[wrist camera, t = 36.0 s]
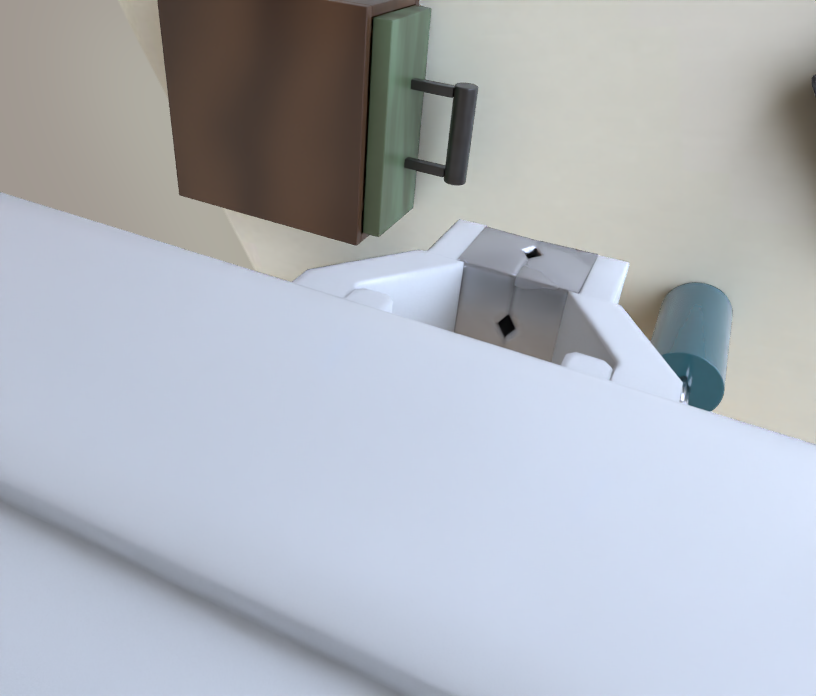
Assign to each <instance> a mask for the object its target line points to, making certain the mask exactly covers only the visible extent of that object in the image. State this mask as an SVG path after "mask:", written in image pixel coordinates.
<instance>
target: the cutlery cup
mask: <svg viewBox="0 0 816 696" xmlns="http://www.w3.org/2000/svg"><path fill="white" fill-rule="evenodd" d="M732 316H733V310H732V306H731V303H730V301H729V299H728V298H727V296H726V295H725V294H724V293H723V292H722V291H720V290H719V289H717V288H716V287H714V286H711V285H708V284H705V283H687V284H683V285H680V286H678V287H676V288H674V289H673V290H671V291H670V292H669V293H668V294H667V295H666V297H665V298H664V300H663V302H662V304H661V308H660V311H659V315H658V318H657V322H656V325H655V329H654V332H653V336H652V339H651V344H652V345H653V346H654V347H655V349H656V350H657V351H658V352H659V354H660V355H661V356H662V357H663V359H664V360H665V361H666V362H667V364H668V365H669V366H670V367H671V369H672V370H673V371H674V372H675V374H676V375H677V376H678V377H679V379H680V380H681V381H682V382H683V385H682V390H681V395H680V401H679V402H680V403H683V404H687V405H690V406H693V407H696V408H699V409H703V410H706V411H709V412H711V411H712V410H714V409H715V408H716V407H717V406H718V405H719V403H720V402H721V400H722V398H723V395H724V389H725V380H726V371H727V362H728V353H729V344H730V335H731V325H732Z"/></svg>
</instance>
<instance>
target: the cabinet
mask: <svg viewBox="0 0 816 696" xmlns="http://www.w3.org/2000/svg"><path fill="white" fill-rule="evenodd" d="M414 5H416V6H419V0H158V9H159V18H160V27H161V36H162V44H163V53H164V62H165V71H166V80H167V89H168V98H169V107H170V116H171V125H172V134H173V142H174V151H175V160H176V169H177V178H178V187H179V195H181V196H184V197H188V198H191V199H195V200H198V201H202V202H205V203H209V204H212V205H216V206H220V207H223V208H226V209H230V210H233V211H237V212H240V213H244V214H247V215H251V216H254V217H258V218H261V219H265V220H268V221H272V222H275V223H279V224H282V225H286V226H289V227H293V228H296V229H300V230H303V231H307V232H310V233H314V234H317V235H321V236H324V237H328V238H331V239H335V240H339V241H342V242H346V243H349V244H353V245H358V244H359V243H360V242H361V241H363V240H364V239H365V238H366V237H368V236H369V234H366V233H363V219H364V210H362V199H363V178H364V157H365V136H366V115H367V94H368V73H369V52H370V31H371V17H374V16H377V15H381V14H384V13H387V12H391V11H397V10H401V9H404V8H407V7H410V6H414Z"/></svg>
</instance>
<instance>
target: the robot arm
mask: <svg viewBox="0 0 816 696" xmlns="http://www.w3.org/2000/svg"><path fill="white" fill-rule="evenodd" d="M628 268H629V262H626V261H621V260H617V259H613V258H608V257H604V256H599V255H598V254H595V253H590V252H586V251H582V250H578V249H573V248H569V247H565V246H561V245H556V244H552V243H548V242H544V241H537V240H534V239H530V238H527V237H523V236H519V235H516V234H512V233H508V232H505V231H501V230H498V229H494V228H490V227H487V225H483V224H478V223H474V222H469V221H465V220H461V219H459V220H458V221H457V222H456V223H455V224H454V225H453V226H452V227H451V228H450V229H449V230H448V231H447V232H445V233H444V234H443V235H442V236H441V237H440V238H439V239H438V240H437V241H436V242H435V243H434V244H433V245H432V246H431V247H430V248H429V249H428V250H427V251H423V250H413V251H408V252H402V253H396V254H391V255H385V256H380V257H374V258H368V259H363V260H357V261H352V262H346V263H340V264H335V265H329V266H324V267H318V268H313V269H308V270H306V271H305V272H304V273H302V274H301V275H300V276H299V277H297V278H296V279H295V280H293V281H292V282H289V281H286V280H283V279H280V278H276V277H273V276H270V275H267V274H264V273H260V272H257V271H254V270H250V269H247V268H244V267H241V266H238V265H234V264H231V263H228V262H224V261H222V260H218V259H215V258H212V257H209V256H205V255H202V254H199V253H196V252H193V251H189V250H186V249H183V248H179V247H176V246H173V245H170V244H167V243H163V242H160V241H157V240H154V239H151V238H147V237H144V236H141V235H137V234H134V233H131V232H128V231H125V230H121V229H118V228H115V227H112V226H109V225H105V224H102V223H99V222H96V221H92V220H89V219H86V218H82V217H80V216H76V215H73V214H70V213H67V212H63V211H60V210H57V209H54V208H50V207H47V206H44V205H41V204H37V203H34V202H31V201H28V200H25V199H21V198H18V197H15V196H12V195H8V194H5V193H2V192H0V696H816V444H812V443H809V442H806V441H803V440H800V439H796V438H793V437H790V436H787V435H783V434H780V433H777V432H774V431H770V430H767V429H764V428H761V427H758V426H754V425H751V424H748V423H745V422H741V421H738V420H735V419H732V418H729V417H725V416H722V415H719V414H716V413H712V412H709V411H706V410H703V409H699V408H696V407H693V406H690V405H687V404H683V403H680V402H679V401H680V395H681V390H682V385H683V382H682V381H681V380H680V379H679V377H678V376H677V375H676V374H675V372H674V371H673V370H672V369H671V367H670V366H669V365H668V364H667V362H666V361H665V360H664V359H663V357H662V356H661V355H660V354H659V352H658V351H657V350H656V349H655V347H654V346H653V345H652V344H651V342H650V341H649V340H648V339H647V337H646V336H645V335H644V334H643V332H642V331H641V330H640V329H639V327H638V326H637V325H636V324H635V322H634V321H633V320H632V319H631V317H630V316H629V315H628V314H627V312H626V311H625V310H624V309H623V307H622V306H621V305H618V302H619V298H620V295H621V292H622V288H623V285H624V282H625V278H626V275H627V271H628Z"/></svg>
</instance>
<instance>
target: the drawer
mask: <svg viewBox="0 0 816 696" xmlns="http://www.w3.org/2000/svg"><path fill="white" fill-rule="evenodd" d="M430 18H431V8H428V7H422V6H416V5H414V6H410V7H407V8H404V9H401V10H397V11H391V12H387V13H384V14H381V15H377V16H374V17H371V31H370V52H369V73H368V94H367V115H366V136H365V157H364V178H363V199H362V210H364V219H363V233H366V234H369V235H373V236H376V237H379V236H381V235H382V234H383V233H384V232H385V231H386V230H388V229H389V228H390V227H391V226H392V225H393V224H395V223H396V222H397V221H398V220H399V219H400V218H402V217H403V216H404V215H405V214H406V213H407V212H409V211H410V210H411V209H412V208H413V202H414V191H415V181H416V171H419V172H424V173H428V174H432V175H436V176H440V177H444V181H445V182H446V183H448V184H451V185H463V184H465V182H466V175H467V167H468V160H469V153H470V145H471V138H472V131H473V123H474V116H475V108H476V101H477V94H478V86H476V85H474V84H470V83H457V84H455V86H454V85H449V84H444V83H439V82H434V81H429V80H425V72H426V62H427V51H428V40H429V29H430ZM424 92H426V93H431V94H436V95H441V96H446V97H451V98H453V97H454V98H453V106H452V115H451V123H450V132H449V141H448V149H447V158H446V166H445V165H441V164H437V163H432V162H428V161H424V160H420V159H418V148H419V137H420V126H421V116H422V105H423V94H424Z"/></svg>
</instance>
